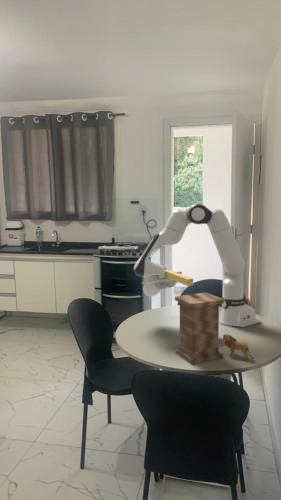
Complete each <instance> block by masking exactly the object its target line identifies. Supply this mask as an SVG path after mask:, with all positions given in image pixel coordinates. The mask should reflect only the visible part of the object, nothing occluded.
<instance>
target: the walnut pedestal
mask: <svg viewBox="0 0 281 500" xmlns="http://www.w3.org/2000/svg"><path fill="white" fill-rule="evenodd" d="M174 300H175V301H176V302H178V303H179V348H175V349H174V351H175V354H177V355H178V356H180V357H181V358H182V359H184V361H186V362H187V363H189V364H190V365H195V364H199V363H204V362H208V361H214V360H217V359H223V358H224V354H223V352H221V351H219V331H220V329H219V328H220V327H219V326H220V325H219V323H220V322H219V320H220V317H219V316H220V315H219V314H220V313H219V311H220V310H219V309H220V307H219V305H220V304H221V305H222V303H224V299H222V297H219V296H216V295H213V294H211V293H208V292H206V291H205V292H204V291H203V292H198V293H190V294H183V295H176V296H174Z"/></svg>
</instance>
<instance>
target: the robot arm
mask: <svg viewBox="0 0 281 500" xmlns="http://www.w3.org/2000/svg"><path fill="white" fill-rule="evenodd" d="M190 224H194V225H203V224H205V225H206V226H207V227H208V229H209V230H208V231H209V232H210V235H211V237H212V240H213V243H214V245H215V247H216V250H217V253H218V255H219V258H220V261H221V264H222V266H221V267H222V296H221V299H224V303H222V304H221V311H220V312H221V314H220V317H219V323H220V324H221V325H225V326H230V327H238V328H239V327H240V328H244V327H248V326H251V325H255V324H258V323H260V322H261V320H260V318H259V317H257V314H256V310H255V309H254V308H253V307H251V306H250V305H248V304H247V303H249V302H250V298H249V297H244V273H243V272H244V269H245V267H246V262H245V259H244V257H243V254H242V252H241V249H240V247H239V245H238V241H237V239H236V237H235V235H234V232H233V229H232V227H231V224H230V222H229V219H228V218H227V216H226V214H225V212H224V211H223V210H222V209H219V208H217V209H211V210H210V209H209V208H208V207H207V206H205V204H202V203H198V202H196V203H193V204H191V205H190V207H188V208H186V210H183V209H174V210H173V211H172V212H171V214H170V216H169V217H168V219H167V221H166V223H165V225H164V227H163V229H162V230H161V231H160V232H157V233H155V234H154V235H153V236H152V237H151V239H150V241H148V244H147V245H146V247H145V248H144V250H143V252H142V254H140V256H139V258H138V260H137V261H136V262H135V263H134V266H133V272H134V275H136V277H137V276H138V277H141V278H144V280H143V281H142V282H141V284H142V285H143V287H142V291H143V294H144V295H145V296H147V297H150V298H151V297H155V296H157V295H158V294H159V293H161V292H163V290H167V289H168V288H172V287H175V286H176V284H178V283H179V282H177V281H174V280H172V279H169V278H167V277H165V276H167V273H166V272H163V270H167V267H166V266H165V265H162V264H159V263H157V262H155V261H151V260H149V259H150V257H151V256H152V254H153V252H154V251H155V250H156V249H157V248H158V247H161V246H173V245H176V244H178V243H180V241H181V240H182V239H183V237H184V234H185V232H186V230H187V227H188V226H189V225H190ZM175 272H176V273H179V274H182V275H183V273H182V271H175ZM246 302H247V303H246Z"/></svg>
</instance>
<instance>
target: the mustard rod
mask: <svg viewBox="0 0 281 500" xmlns="http://www.w3.org/2000/svg"><path fill="white" fill-rule="evenodd" d="M163 272H166V273H167V276H165V277H167V278H169V279H172V280H174V281H177V282H178V283H179V284H181V285H184V286H186V287H189V286H194V278H193V277H190V276H188V275H187V276H186V275H184V274H183V273H182V274H179V273H176V272H177V271H174V270H171V269H166V270H163Z"/></svg>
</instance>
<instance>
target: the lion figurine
mask: <svg viewBox="0 0 281 500" xmlns="http://www.w3.org/2000/svg"><path fill="white" fill-rule="evenodd" d="M221 342H222V344H224V345H225V346H226V348H228V349H229V351H230V353H229V356H230V357H231V356H234V354H235V350H237V351H241V352H242V354H243V357H244V358H245V361H246V362H248V361H249V360H250V359H252V360H255V358H254V357H253V356H252V355H251V352H250V348H249V345H248V344H247V343H246V342H241V341H238V340H237V339H236V338H235V337H234V336H232V335H231V334H228V333H225V334H223V335H222V340H221ZM249 357H250V358H249Z"/></svg>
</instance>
